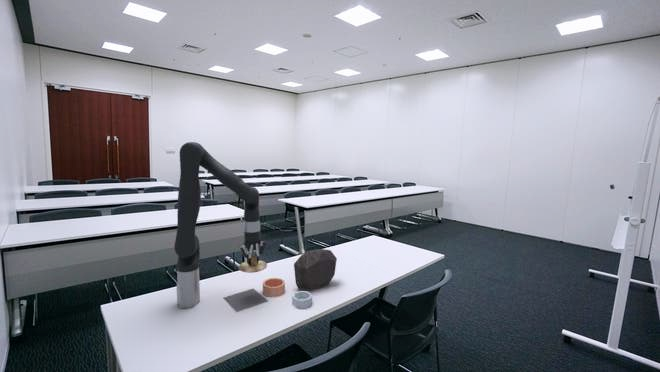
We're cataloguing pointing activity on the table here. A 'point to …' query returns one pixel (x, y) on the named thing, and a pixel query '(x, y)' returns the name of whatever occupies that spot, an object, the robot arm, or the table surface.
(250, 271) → the lid
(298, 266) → the decorative stone
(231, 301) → the mat
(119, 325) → the table surface
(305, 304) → the small bowl
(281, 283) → the bowl
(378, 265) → the table surface
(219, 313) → the table surface
